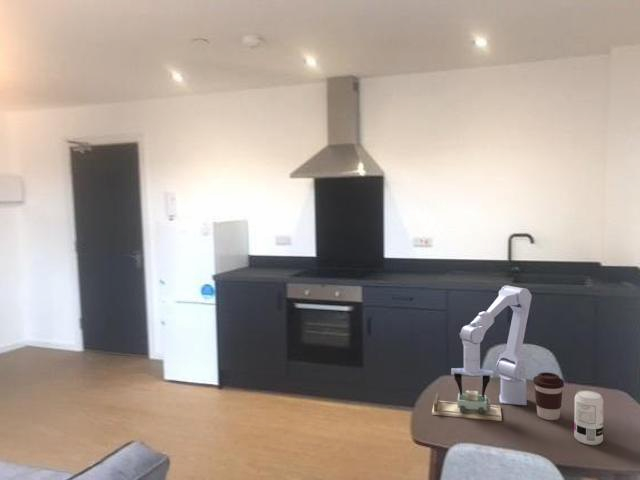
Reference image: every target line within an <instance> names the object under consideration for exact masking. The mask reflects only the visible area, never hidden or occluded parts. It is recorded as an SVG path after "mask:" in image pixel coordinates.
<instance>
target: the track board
mask: <svg viewBox="0 0 640 480" xmlns="http://www.w3.org/2000/svg"><path fill="white" fill-rule="evenodd" d="M439 399H440V394H439V393H438V392H436V393H435V397H434V400H433V404H432V405H433V406H432V410H431V415H432V416H433V415H434V416H442V417H443V416H446V417H453V418H454V417H456V418H466V419H475V420H487V421H488V420H490V421H499V422H502V410H501V405H495V404H494V405H493V404H490V411H487V410H484V413H483V414H480V413H479V412H478V410H476V409H466V410H465V412H461V411H460V408H458V401H448V400H447V401H445V400H439Z"/></svg>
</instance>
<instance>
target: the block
mask: <svg viewBox="0 0 640 480" xmlns="http://www.w3.org/2000/svg"><path fill="white" fill-rule="evenodd" d="M465 394H466V401H477V402H478V395H479V393H478V390H466V391H465Z"/></svg>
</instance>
